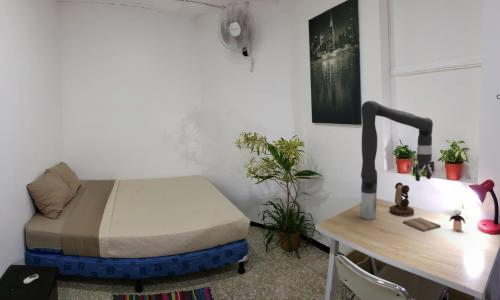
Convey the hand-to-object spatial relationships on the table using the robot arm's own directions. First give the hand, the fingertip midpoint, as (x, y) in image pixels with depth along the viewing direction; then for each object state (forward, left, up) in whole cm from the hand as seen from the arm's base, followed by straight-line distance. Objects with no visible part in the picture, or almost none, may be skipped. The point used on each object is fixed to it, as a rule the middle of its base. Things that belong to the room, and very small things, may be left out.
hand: (423, 179), depth 174 cm
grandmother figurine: (+11, -14, -28) cm, 33 cm away
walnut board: (0, 0, -28) cm, 28 cm away
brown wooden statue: (+6, +20, -28) cm, 35 cm away
